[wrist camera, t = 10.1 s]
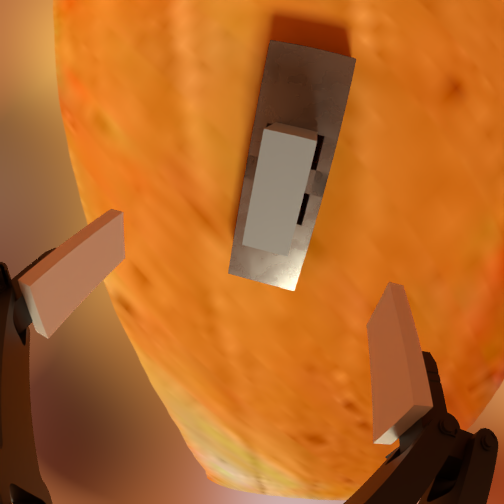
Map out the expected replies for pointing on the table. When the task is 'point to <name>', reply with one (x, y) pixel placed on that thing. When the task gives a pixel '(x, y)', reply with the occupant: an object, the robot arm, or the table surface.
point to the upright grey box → (279, 187)
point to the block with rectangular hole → (303, 116)
